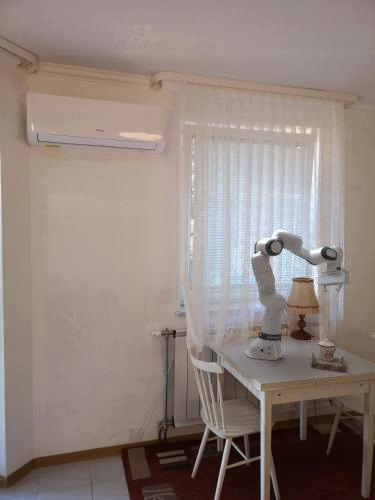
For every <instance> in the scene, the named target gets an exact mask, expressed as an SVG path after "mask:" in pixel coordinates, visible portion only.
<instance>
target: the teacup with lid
mask: <svg viewBox="0 0 375 500" xmlns="http://www.w3.org/2000/svg"><path fill="white" fill-rule="evenodd" d="M336 351H337V347H336V346H335V344H334V343H333V342H330V341H329V339H328V338H327V339H324V340H322V341H319V342H318V349H317V355H318V359H319V360H321V361H324V362H331V361H334V356H335V355H334V354H335V353H336Z"/></svg>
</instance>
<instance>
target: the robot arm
mask: <svg viewBox="0 0 375 500" xmlns="http://www.w3.org/2000/svg"><path fill="white" fill-rule="evenodd" d="M303 243H304V241H303V238H302V237H301V236H300V235H298V234H296V233H295V232H292V231H288V230H285V229H277V230H275V231H274V232H273V233H272V236H271V237H270V238H269V237H266V238H261V239H258V240H257V241H256V242H255V244H254V248H253V249H254V251H253V253H254V254H253V255H252V256H251V259H250V262H251V269H252V272H253V276H254V277H255V278H254V279H255V282H256V284H257V290H258V295H259V296H258V300H259V302H260V304H261V305H262V306H263V307H264V308H265V313H264V316H263V317H262V320H261V322H262V326H261V331H260V330H257V331H256V334H257V335H258V337H257V338H255V339H254V340H253V341H251V342H250V343H249V347H248V349H246V350H244V355H245V356H246V357H247V358H249V359H257V360H268V361H277V360H278V359H281V358H283V353H282V345H281V343H282V332H281V329H282V318H283V316H284V311H285V310H286V308H287V306H288V302H287V299H286V298H285V297H284V296H283V295H282V294H280V293H278V292H277V289H276V279H275V278H276V277H275V274H274V272H273V268H272V266H271V262H270V260H271V259H270V257H276V256H279V255H280V254H281V253H282V252H283V249H284V250H286V251H289V252H290V253H291V254H294V255H295V256H297V257H299V258H301V259H303V260H304V261H306V262H307V263H308V264H309V265H312V266H319V265H321V264H324V263H326V271H322V272H320V273H319V275H318V279H317V285H318V286H320V287H321V288H322V292H323V293H327V291H328V289H326V288H327V286H328V287H330V286H337V287H336V288H335V291H336V292H340V291H341V289H342V287H343V286H344V285H348V284H349V281H350V275H349V270H348V269H347V268H345V267H343V266H342V265H343V260H344V251H343V248H342V247H341V246H338V245H332V246H327V245H326V246H322V247H319V248H316V249H314V250H313V249H312V250H308V249H306V248H304V247H303Z"/></svg>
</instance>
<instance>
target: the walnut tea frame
mask: <svg viewBox="0 0 375 500" xmlns="http://www.w3.org/2000/svg"><path fill="white" fill-rule="evenodd" d="M311 353H312V354H311V361H310V362H311V363H310V364H311V365H310V367H311V368H313V369H320V370H327V371H332V372H333V371H334V372H340V373H346V362H345V358H344V356H341V361H340V363H341V365H340V364H333V363H327V362H326V363H324V362H319V361H318V362H317V361H315V353H314V352H311Z"/></svg>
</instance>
